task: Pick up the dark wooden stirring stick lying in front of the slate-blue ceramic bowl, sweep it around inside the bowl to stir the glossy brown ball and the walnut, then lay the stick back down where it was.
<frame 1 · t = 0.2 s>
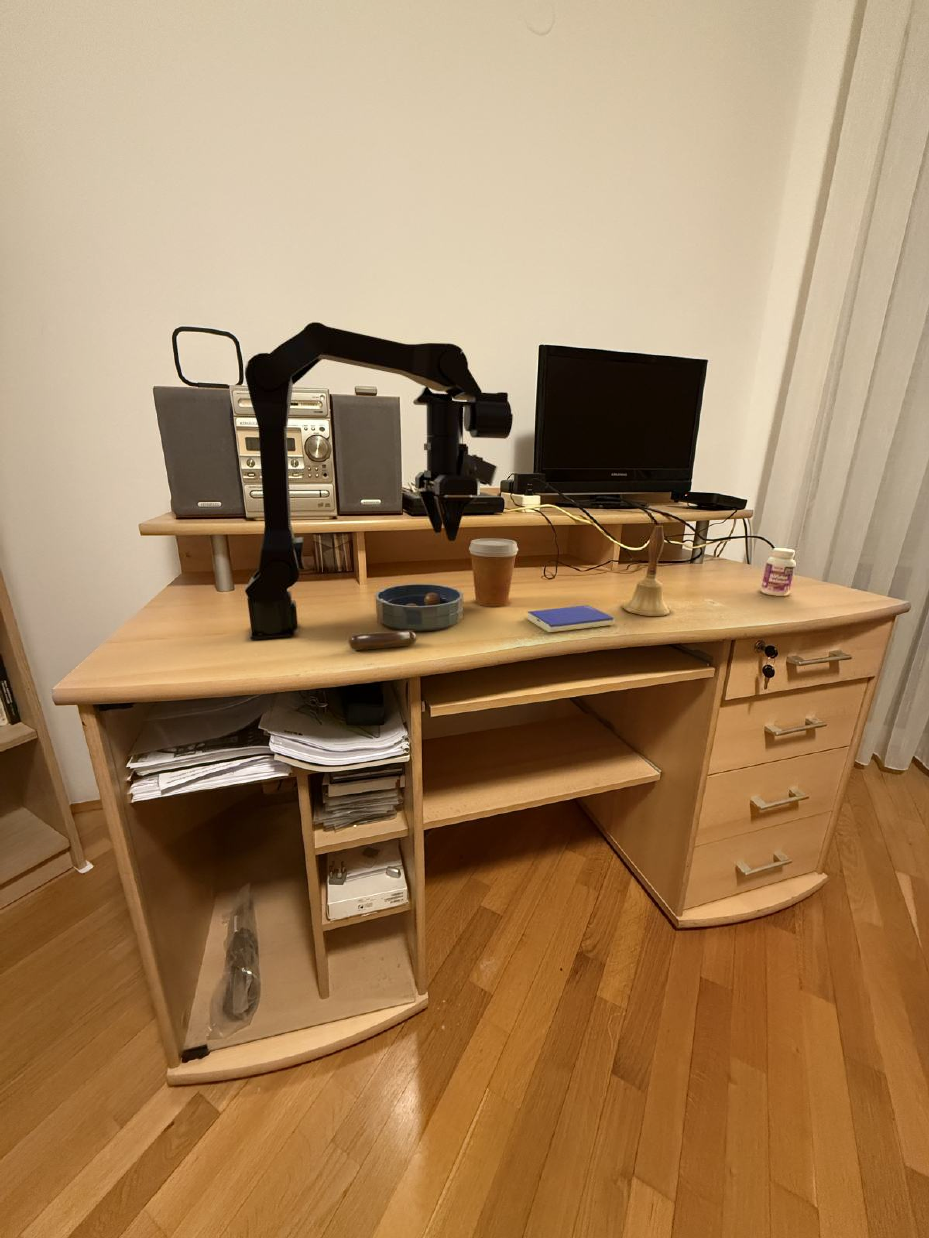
hand: (444, 536, 82), 15 cm above the table, tool pointing down, fingers open, 9 cm apart
hard drive: (568, 623, 86), on the table
bowl: (419, 619, 86), on the table
stick: (383, 647, 73), on the table
glossy brown ball: (432, 608, 89), point 1 cm above the table, touching bowl
hand bell: (645, 611, 94), on the table
disposable coffee cup: (491, 603, 97), on the table
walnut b: (411, 620, 83), point 1 cm above the table, touching bowl
pill bottle: (774, 594, 107), on the table
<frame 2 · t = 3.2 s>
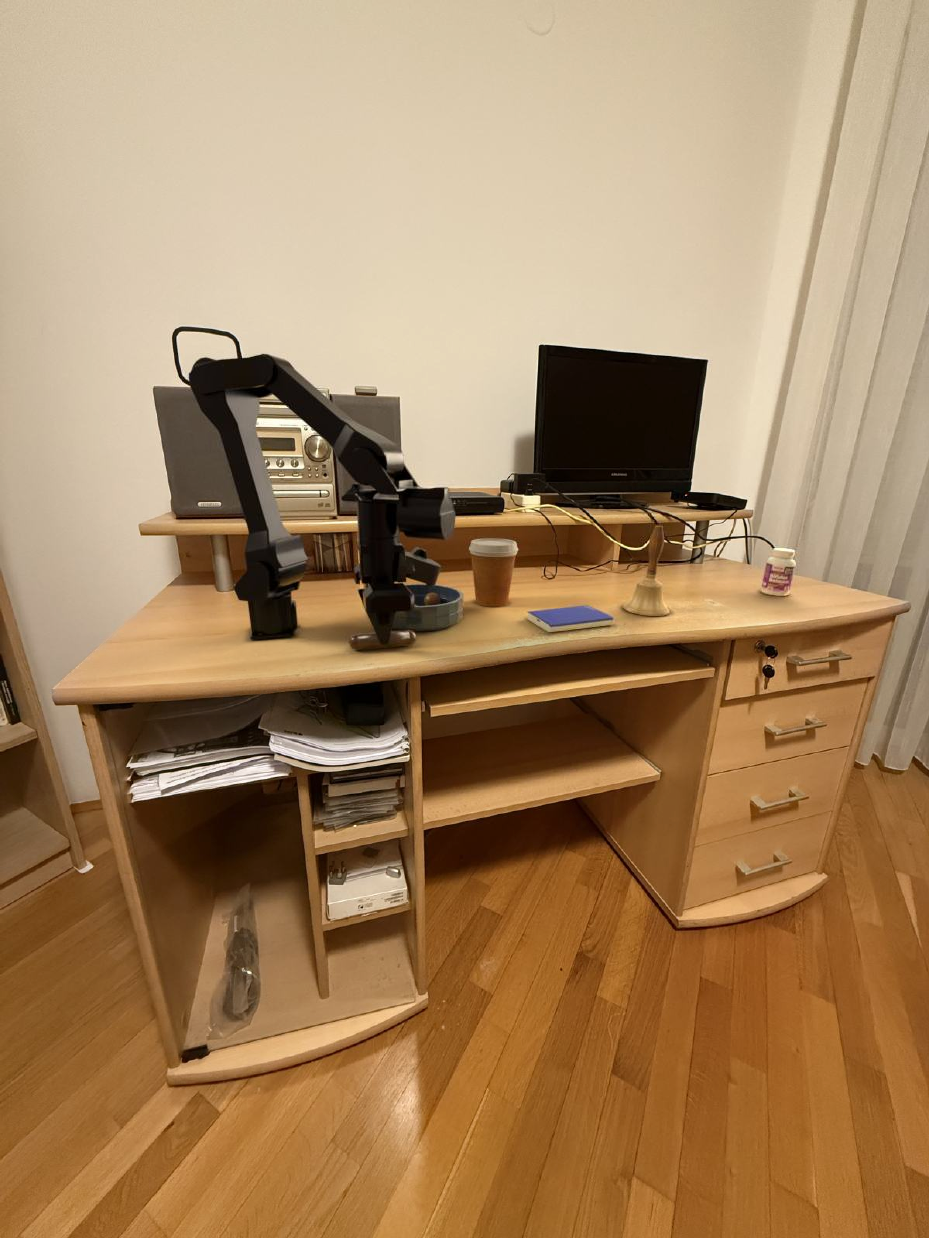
hand: (383, 641, 73), 1 cm above the table, tool pointing down, fingers closed on stick, 2 cm apart
stick: (383, 647, 73), on the table, touching gripper
everything else where it was.
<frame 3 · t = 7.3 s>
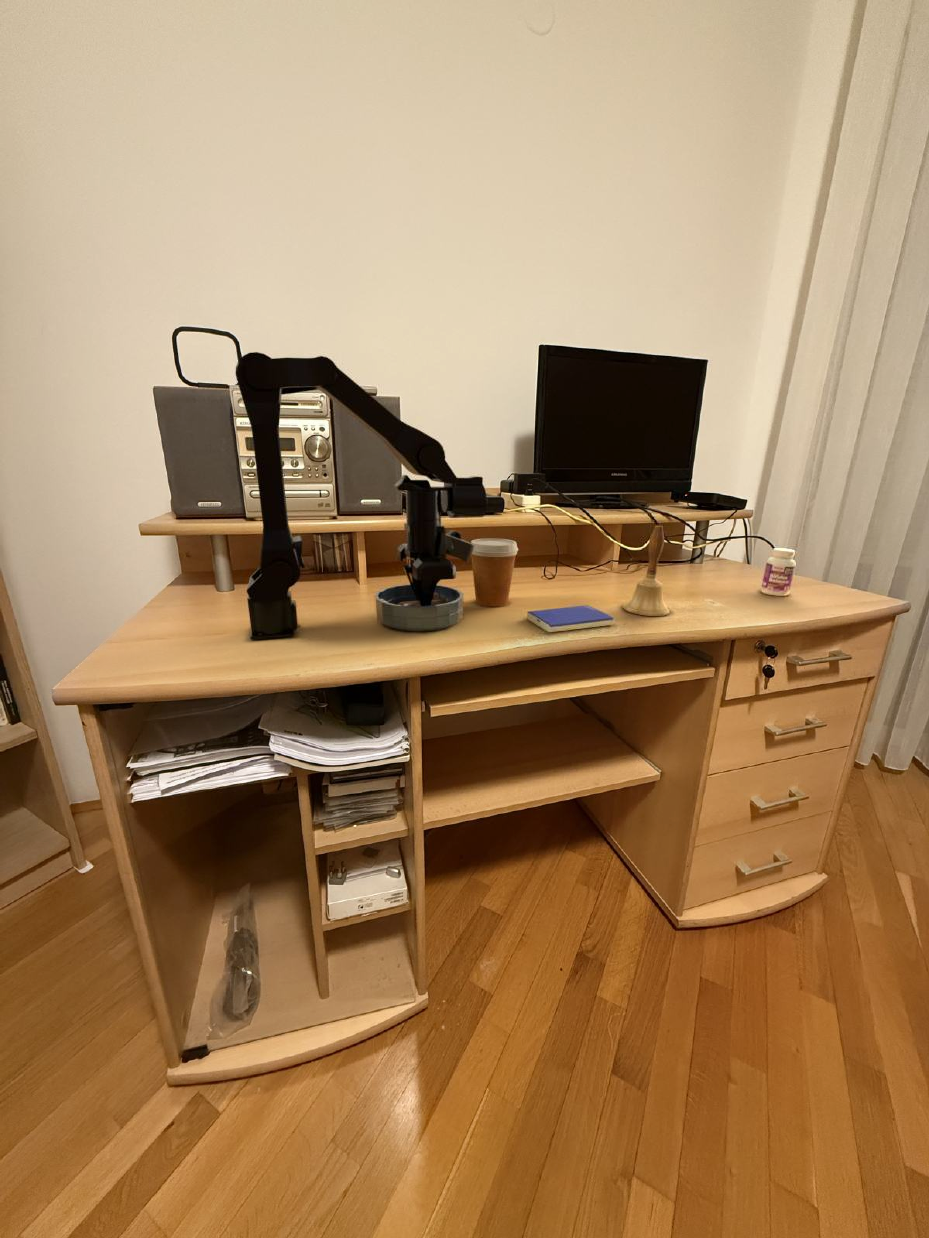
hand: (424, 608, 86), 2 cm above the table, tool pointing down, fingers closed on stick, 2 cm apart
stick: (424, 613, 86), point 1 cm above the table, touching bowl, gripper
glossy brown ball: (434, 608, 89), point 1 cm above the table, tilted 11°, touching bowl
everything else where it was.
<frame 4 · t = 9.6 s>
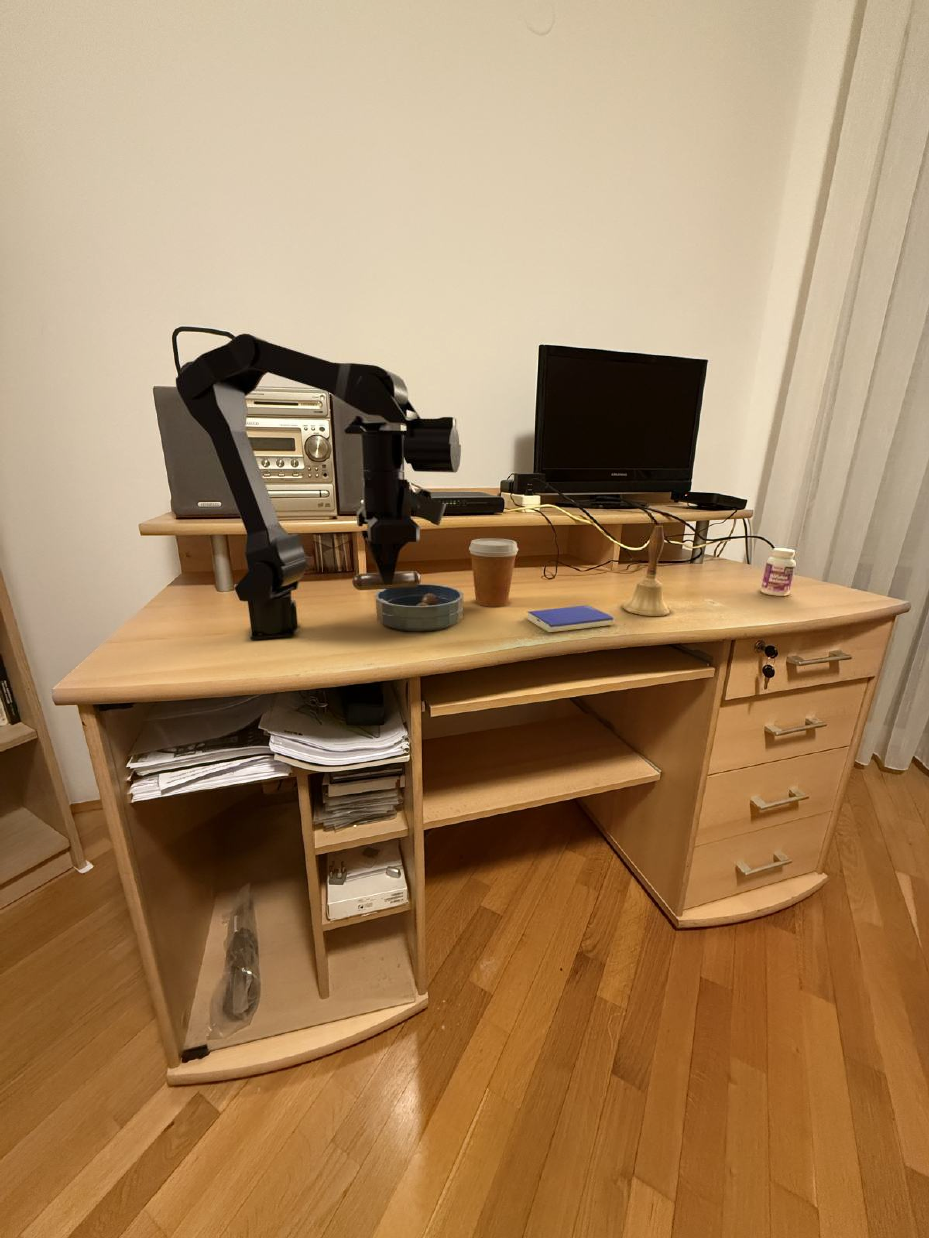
hand: (386, 582, 72), 10 cm above the table, tool pointing down, fingers closed on stick, 2 cm apart
stick: (387, 588, 72), point 9 cm above the table, touching gripper
glossy brown ball: (434, 607, 89), point 1 cm above the table, tilted 40°, touching bowl
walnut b: (414, 615, 83), point 2 cm above the table, tilted 63°, touching bowl
everything else where it was.
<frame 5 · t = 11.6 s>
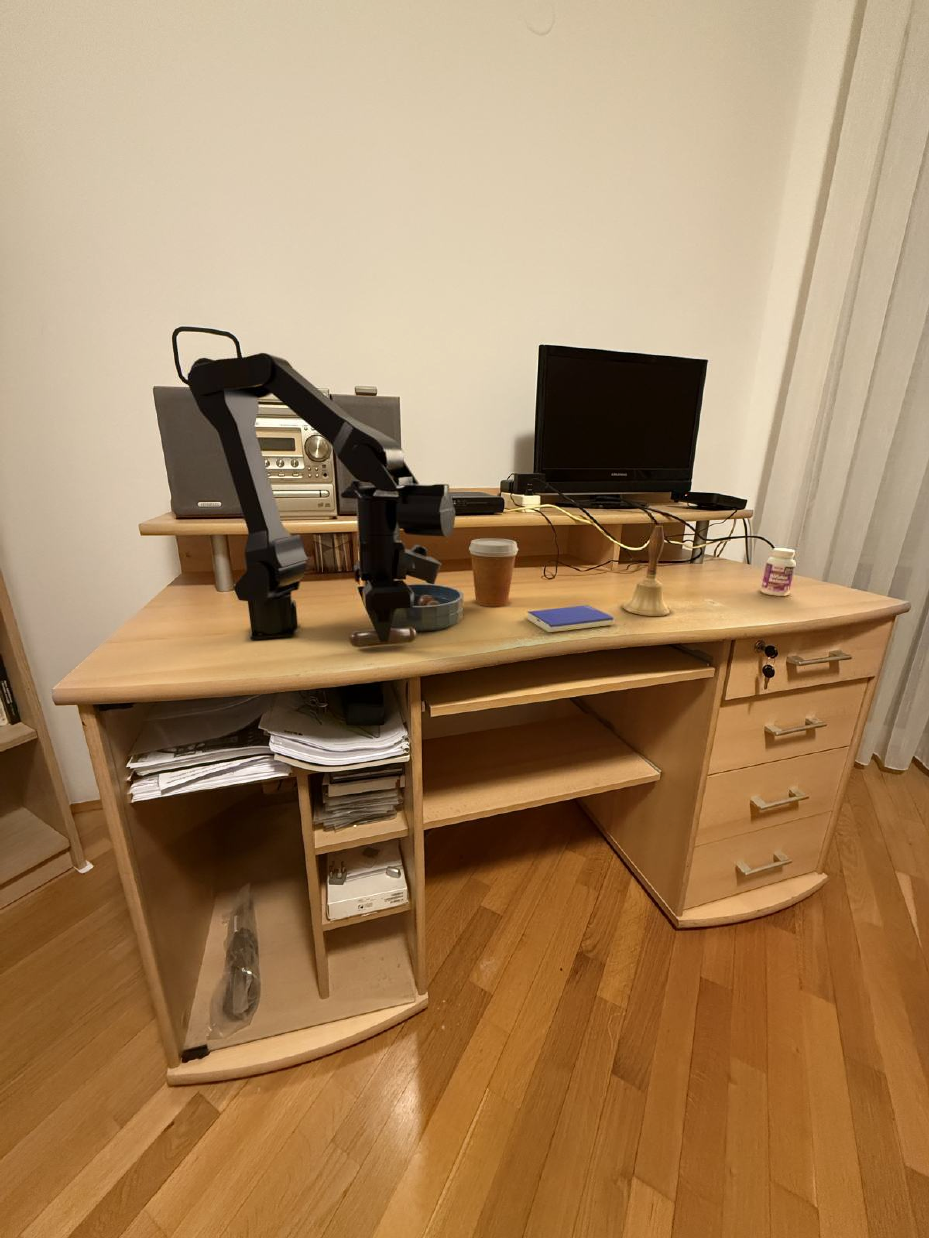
hand: (382, 638, 72), 1 cm above the table, tool pointing down, fingers closed on stick, 2 cm apart
stick: (383, 644, 73), on the table, touching gripper
glossy brown ball: (432, 603, 88), point 2 cm above the table, tilted 76°, touching bowl
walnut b: (428, 602, 84), point 3 cm above the table, tilted 138°, touching bowl
everything else where it was.
when the fingers open (1 cm above the table, at t = 11.9 s): stick stays where it is, on the table.
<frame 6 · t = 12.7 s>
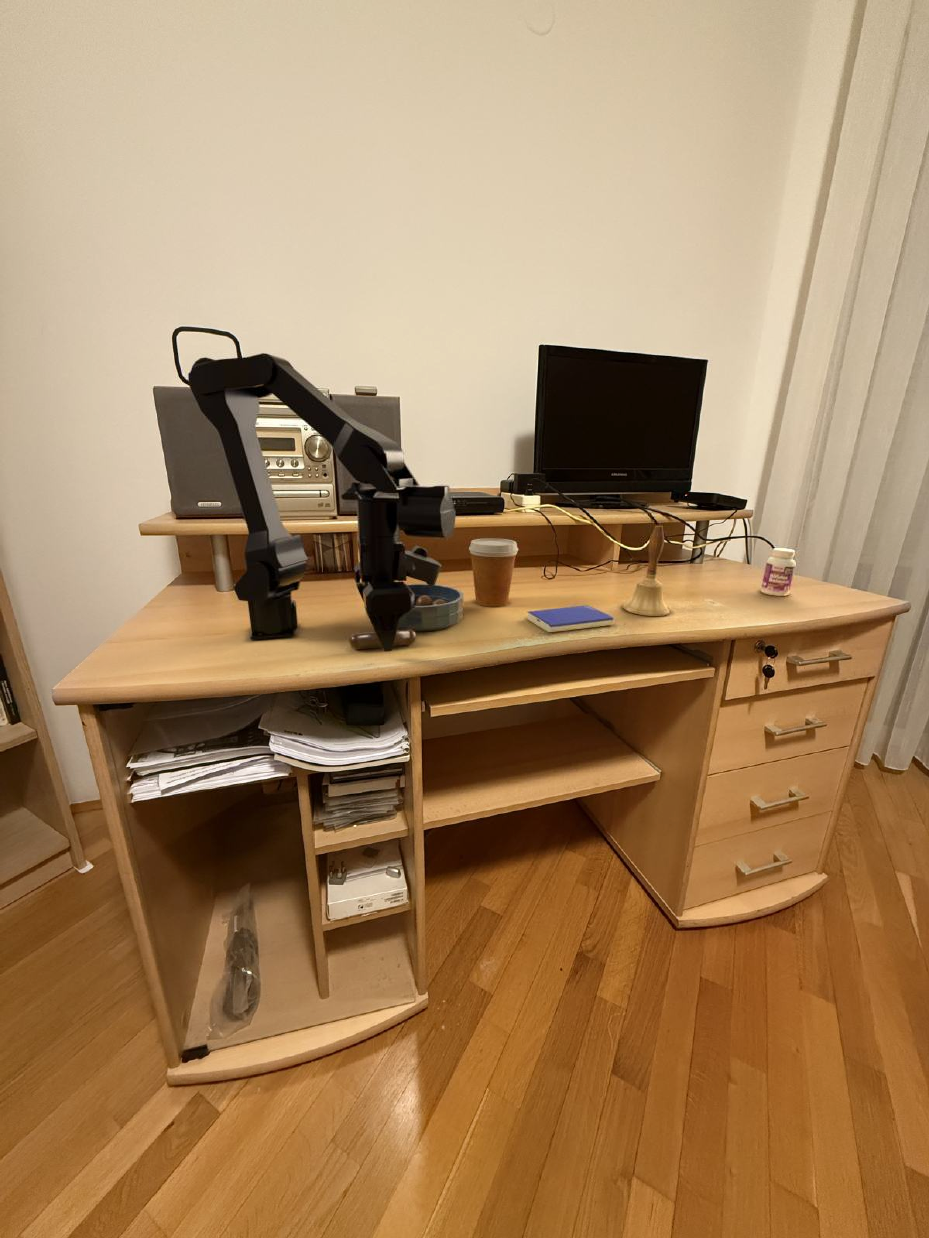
hand: (383, 639, 73), 1 cm above the table, tool pointing down, fingers open, 9 cm apart
stick: (383, 647, 73), on the table, tilted 12°
glossy brown ball: (430, 601, 88), point 2 cm above the table, tilted 95°, touching bowl
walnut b: (439, 599, 85), point 4 cm above the table, tilted 145°, touching bowl
everything else where it was.
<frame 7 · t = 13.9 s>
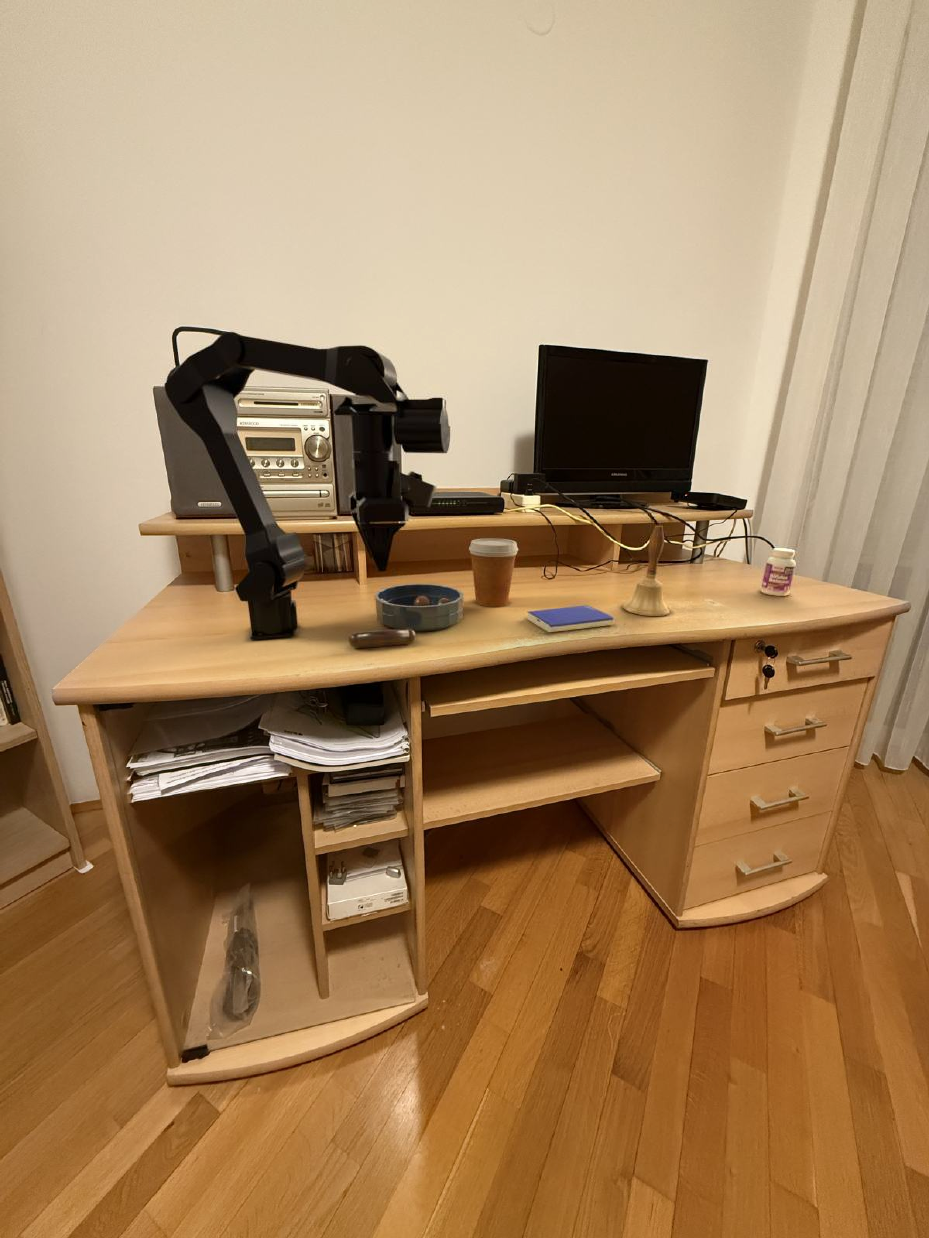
hand: (377, 564, 72), 12 cm above the table, tool pointing down, fingers open, 9 cm apart
stick: (383, 645, 73), on the table, tilted 34°
glossy brown ball: (428, 599, 87), point 3 cm above the table, tilted 117°, touching bowl
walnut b: (447, 601, 87), point 3 cm above the table, tilted 114°, touching bowl
everything else where it was.
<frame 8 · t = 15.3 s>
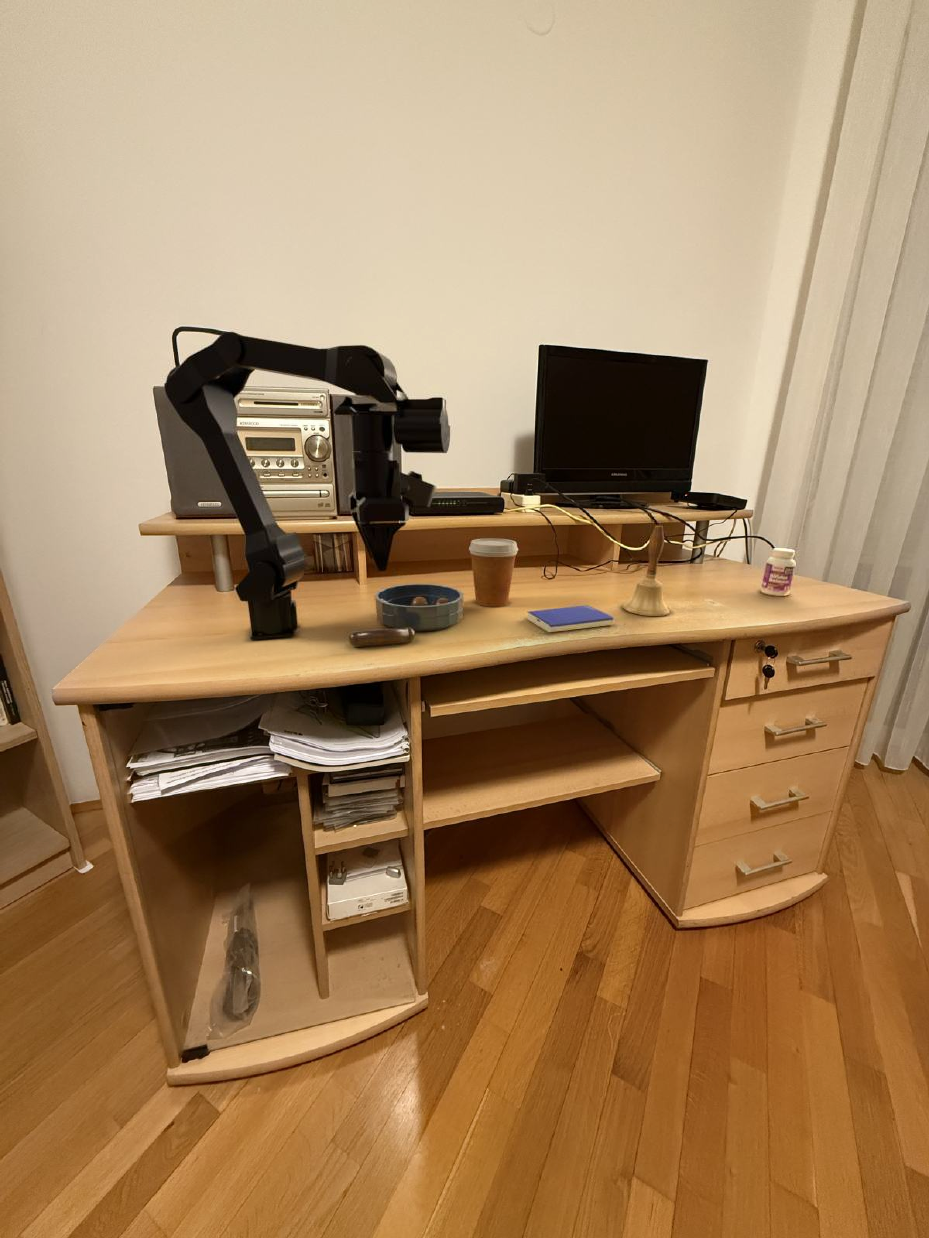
hand: (377, 564, 72), 12 cm above the table, tool pointing down, fingers open, 9 cm apart
stick: (383, 643, 73), point 1 cm above the table, tilted 59°
glossy brown ball: (424, 598, 86), point 3 cm above the table, tilted 141°, touching bowl
at the end: glossy brown ball moved 3.8 cm from its start; glossy brown ball inside the target area in the bowl (1.6 cm from its centre), point 3.5 cm above the bowl's base; stick inside the target area (0.3 cm from its centre), point 0.6 cm above the table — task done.
